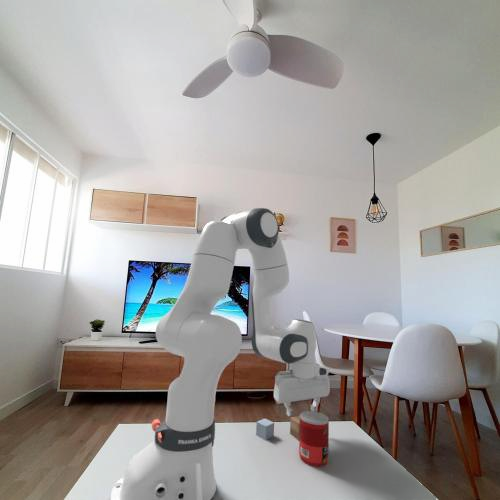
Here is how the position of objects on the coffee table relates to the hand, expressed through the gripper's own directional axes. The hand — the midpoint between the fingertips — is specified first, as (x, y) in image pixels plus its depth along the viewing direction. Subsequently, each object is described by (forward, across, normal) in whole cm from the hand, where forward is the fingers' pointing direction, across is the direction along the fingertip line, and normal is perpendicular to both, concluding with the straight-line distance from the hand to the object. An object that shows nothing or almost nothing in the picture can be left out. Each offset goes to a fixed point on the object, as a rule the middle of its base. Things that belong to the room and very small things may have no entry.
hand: (302, 413), depth 93 cm
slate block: (+6, -12, +4) cm, 14 cm away
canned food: (+7, -5, -12) cm, 15 cm away
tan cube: (+7, -1, 0) cm, 7 cm away
